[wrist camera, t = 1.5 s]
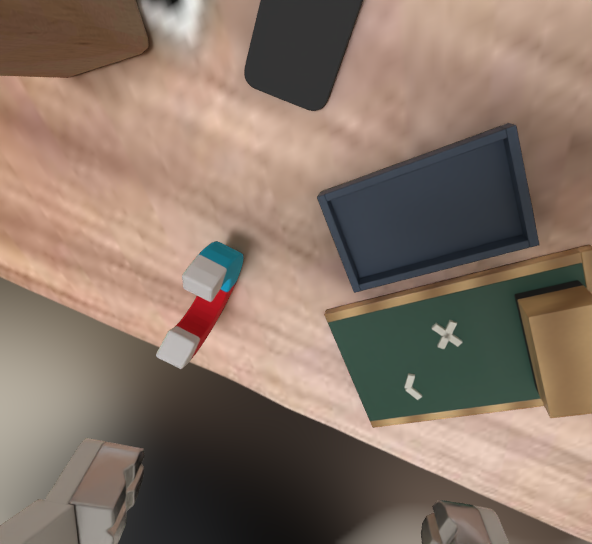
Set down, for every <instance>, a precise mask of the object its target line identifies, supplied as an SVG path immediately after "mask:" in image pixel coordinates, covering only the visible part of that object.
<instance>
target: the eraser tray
mask: <svg viewBox="0 0 592 544" xmlns="http://www.w3.org/2000/svg"><path fill="white" fill-rule="evenodd" d="M317 199H318V201H319V204H320V207H321V209H322V212H323V214H324V217H325V219H326V222H327V224H328V227H329V230H330V232H331V235H332V237H333V240H334V242H335V245H336V248H337V250H338V253H339V255H340V258H341V260H342V263H343V266H344V268H345V271H346V273H347V276H348V278H349V281H350V284H351V286H352V289H353V291H354V293H355V292H359V291H362V290H366V289H370V288H374V287H378V286H382V285H386V284H390V283H393V282H397V281H401V280H405V279H409V278H413V277H417V276H421V275H424V274H428V273H432V272H436V271H440V270H444V269H448V268H452V267H455V266H459V265H463V264H467V263H471V262H475V261H479V260H483V259H486V258H490V257H494V256H498V255H502V254H506V253H510V252H514V251H517V250H521V249H525V248H529V247H534V246H537V245H539V240H538V235H537V230H536V225H535V220H534V215H533V209H532V204H531V199H530V194H529V189H528V184H527V179H526V174H525V168H524V163H523V158H522V153H521V148H520V143H519V138H518V132H517V127H516V125H514V124H510V123H507V124H504V125H502V126H499V127H496V128H493V129H491V130H488V131H485V132H483V133H480V134H477V135H474V136H472V137H469V138H466V139H463V140H461V141H458V142H455V143H453V144H450V145H447V146H444V147H442V148H439V149H436V150H433V151H431V152H428V153H425V154H422V155H420V156H417V157H414V158H412V159H409V160H406V161H403V162H401V163H398V164H395V165H392V166H390V167H387V168H384V169H382V170H379V171H376V172H373V173H371V174H368V175H365V176H362V177H360V178H357V179H354V180H351V181H349V182H346V183H343V184H341V185H338V186H335V187H332V188H330V189H327V190H324V191H321V192H320V193H319V195H318V196H317Z"/></svg>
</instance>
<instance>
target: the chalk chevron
mask: <svg viewBox="0 0 592 544" xmlns="http://www.w3.org/2000/svg"><path fill="white" fill-rule="evenodd" d="M414 379H415V374H411V373H408V376H407V379H406V382H405V385H404V388H405V390H406V391H407V392H408V393H409V394H411V395H412V396H413V397H414V398H416V399H417V400H418V399H420V398H421V397H422V394H421V393H420V392H418V391H417V390H416V389H414V388H413V387H412V384H413V382H414Z"/></svg>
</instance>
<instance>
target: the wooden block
mask: <svg viewBox="0 0 592 544" xmlns="http://www.w3.org/2000/svg"><path fill="white" fill-rule="evenodd" d="M148 47H149V44H148V37H147V34H146V30H145V27H144V24H143V21H142V18H141V15H140V12H139V9H138V6H137V2H136V0H0V76H29V77H60V78H68V77H71V76H74V75H77V74H81V73H84V72H87V71H90V70H93V69H96V68H99V67H102V66H105V65H108V64H111V63H114V62H118V61H121V60H124V59H127V58H130V57H133V56H136V55H139V54H141V53H143V52H144V51H145V50H146V49H147V48H148Z"/></svg>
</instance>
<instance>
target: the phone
mask: <svg viewBox="0 0 592 544" xmlns="http://www.w3.org/2000/svg"><path fill="white" fill-rule="evenodd" d="M362 2H363V0H261V2H260V6H259V10H258V14H257V18H256V22H255V27H254V31H253V35H252V39H251V43H250V48H249V52H248V56H247V60H246V65H245V72H244V73H245V79H246V81H247V83H248V84H249V85H250V86H251V87H253V88H255V89H257V90H260V91H262V92H265V93H267V94H269V95H272V96H274V97H277V98H279V99H282V100H284V101H287V102H289V103H292V104H294V105H297V106H299V107H302V108H305V109H307V110H311V111H316V110H319V109H321V108H323V107H324V106H325V104H326V103H327V101H328V99H329V96H330V93H331V90H332V87H333V85H334V82H335V79H336V76H337V73H338V70H339V67H340V65H341V62H342V59H343V56H344V53H345V50H346V47H347V45H348V42H349V39H350V36H351V33H352V30H353V27H354V25H355V22H356V19H357V16H358V13H359V10H360V7H361V5H362Z"/></svg>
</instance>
